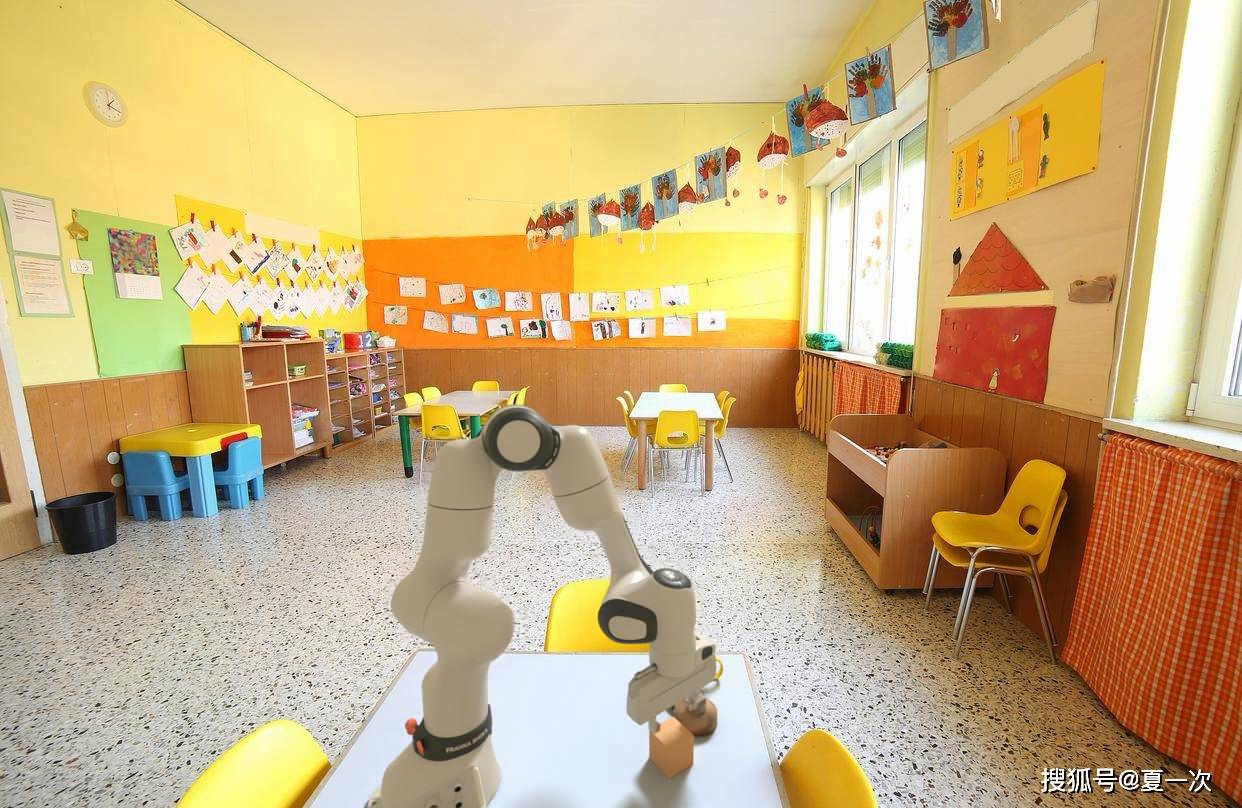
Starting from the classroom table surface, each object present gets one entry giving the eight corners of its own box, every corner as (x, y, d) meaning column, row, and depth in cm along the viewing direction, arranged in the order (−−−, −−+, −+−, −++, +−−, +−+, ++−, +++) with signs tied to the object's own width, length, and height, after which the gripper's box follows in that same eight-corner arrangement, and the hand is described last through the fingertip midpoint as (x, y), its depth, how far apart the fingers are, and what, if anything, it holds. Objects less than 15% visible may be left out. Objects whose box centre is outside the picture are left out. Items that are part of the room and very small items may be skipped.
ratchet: (694, 743, 104) (694, 718, 104) (636, 689, 120) (636, 667, 119) (726, 724, 109) (726, 700, 109) (666, 674, 125) (666, 653, 124)
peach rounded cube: (669, 779, 96) (669, 749, 95) (649, 757, 101) (649, 729, 100) (693, 763, 99) (693, 735, 99) (672, 743, 104) (673, 716, 103)
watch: (721, 674, 125) (721, 651, 124) (723, 682, 122) (724, 658, 122) (696, 674, 125) (696, 652, 124) (698, 682, 122) (698, 659, 121)
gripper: (639, 687, 90) (641, 757, 92) (721, 641, 101) (721, 704, 104) (618, 668, 95) (620, 735, 97) (698, 627, 106) (698, 687, 109)
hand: (673, 719), depth 100 cm, fingers open, 8 cm apart
